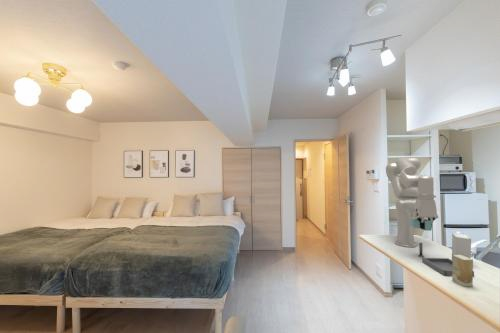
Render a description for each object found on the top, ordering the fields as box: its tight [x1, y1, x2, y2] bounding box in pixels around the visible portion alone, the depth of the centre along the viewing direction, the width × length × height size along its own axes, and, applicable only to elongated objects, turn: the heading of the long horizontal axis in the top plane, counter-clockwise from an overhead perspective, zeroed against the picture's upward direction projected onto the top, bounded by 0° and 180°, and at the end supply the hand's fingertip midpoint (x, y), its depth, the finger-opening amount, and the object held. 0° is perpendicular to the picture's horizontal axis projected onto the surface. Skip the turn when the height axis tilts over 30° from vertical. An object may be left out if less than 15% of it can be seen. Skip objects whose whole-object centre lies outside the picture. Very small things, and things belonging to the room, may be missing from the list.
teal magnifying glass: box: [411, 218, 432, 232], centre depth 147 cm, size 12×8×6 cm, turn 175°
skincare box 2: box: [451, 255, 474, 287], centre depth 113 cm, size 6×4×12 cm
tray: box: [421, 257, 475, 278], centre depth 129 cm, size 18×14×2 cm
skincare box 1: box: [451, 232, 472, 261], centre depth 137 cm, size 8×7×16 cm
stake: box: [417, 242, 425, 258], centre depth 148 cm, size 3×3×8 cm
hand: (425, 228), depth 143 cm, fingers closed on teal magnifying glass, 3 cm apart
